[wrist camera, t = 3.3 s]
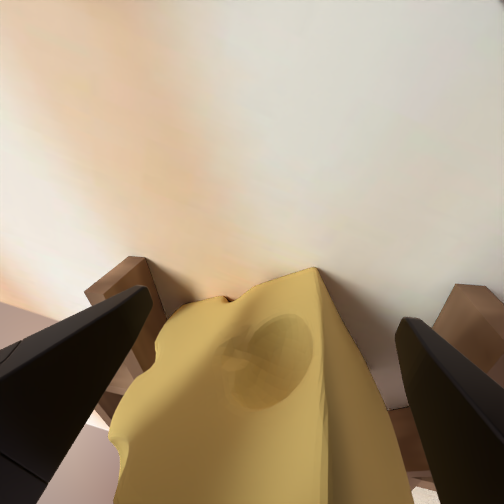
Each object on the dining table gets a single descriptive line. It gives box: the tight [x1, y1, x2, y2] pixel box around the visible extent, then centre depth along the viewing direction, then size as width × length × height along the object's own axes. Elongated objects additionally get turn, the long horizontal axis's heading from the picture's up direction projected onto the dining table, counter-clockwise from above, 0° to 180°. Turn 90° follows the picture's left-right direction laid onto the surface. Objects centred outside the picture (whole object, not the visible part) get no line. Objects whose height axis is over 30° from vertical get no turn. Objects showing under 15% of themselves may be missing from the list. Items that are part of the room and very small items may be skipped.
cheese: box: [108, 267, 414, 504], centre depth 12 cm, size 10×11×10 cm
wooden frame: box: [84, 256, 504, 491], centre depth 19 cm, size 33×31×4 cm
